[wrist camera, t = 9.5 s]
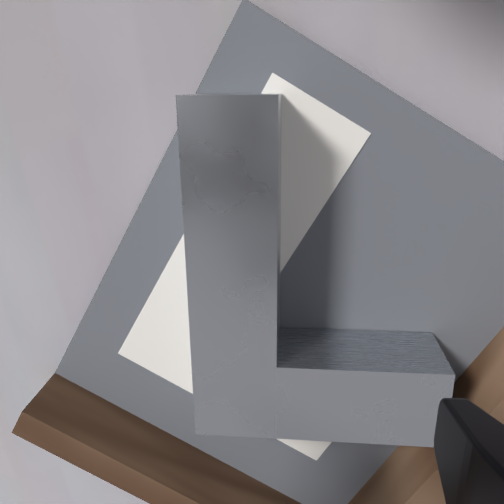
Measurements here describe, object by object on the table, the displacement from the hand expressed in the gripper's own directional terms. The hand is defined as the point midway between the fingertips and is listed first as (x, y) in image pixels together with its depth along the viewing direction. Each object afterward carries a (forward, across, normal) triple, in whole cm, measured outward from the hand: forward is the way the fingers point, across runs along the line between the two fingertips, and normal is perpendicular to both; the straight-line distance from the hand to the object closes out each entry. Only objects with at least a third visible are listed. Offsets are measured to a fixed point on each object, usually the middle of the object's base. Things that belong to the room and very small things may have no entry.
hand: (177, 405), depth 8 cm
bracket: (+11, -3, +1) cm, 11 cm away
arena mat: (+11, -2, +3) cm, 11 cm away
